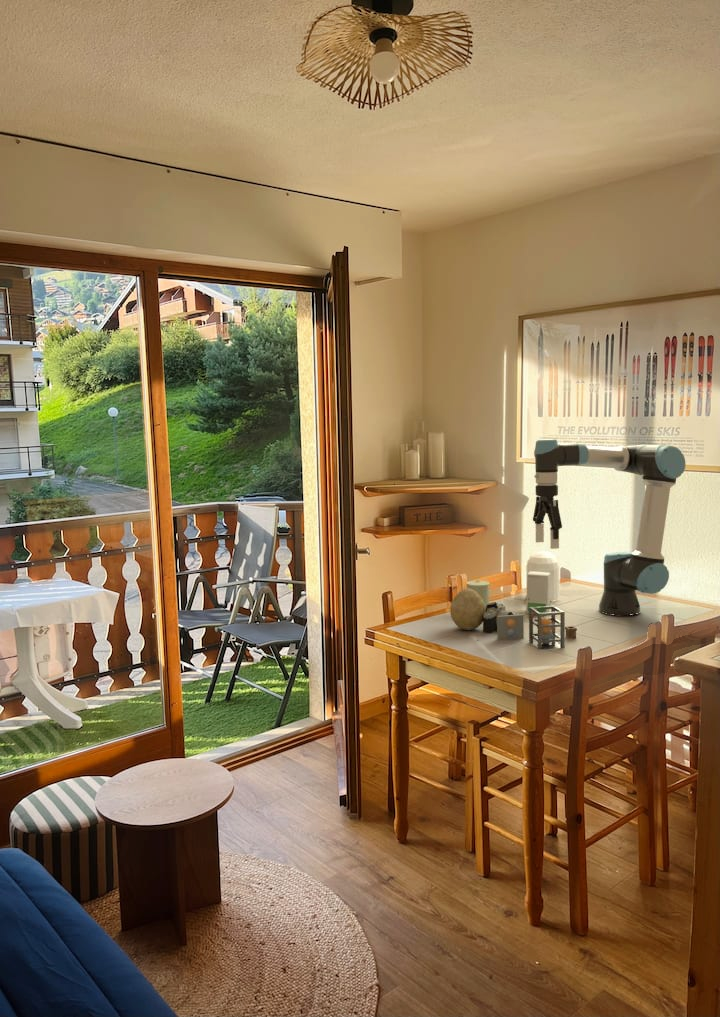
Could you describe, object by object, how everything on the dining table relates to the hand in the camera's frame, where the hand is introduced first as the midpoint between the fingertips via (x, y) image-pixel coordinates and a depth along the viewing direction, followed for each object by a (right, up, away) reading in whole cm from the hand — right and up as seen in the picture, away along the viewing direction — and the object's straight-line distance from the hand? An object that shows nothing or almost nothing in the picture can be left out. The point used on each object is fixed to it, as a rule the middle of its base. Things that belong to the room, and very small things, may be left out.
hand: (547, 545), depth 270 cm
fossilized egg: (-26, -31, +12) cm, 42 cm away
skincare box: (+5, -28, +34) cm, 44 cm away
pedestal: (+7, -32, -4) cm, 33 cm away
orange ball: (-4, -26, -11) cm, 28 cm away
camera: (-15, -31, +10) cm, 36 cm away
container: (+12, -25, +56) cm, 62 cm away
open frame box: (-3, -33, -12) cm, 35 cm away
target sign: (-13, -33, -3) cm, 35 cm away
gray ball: (-3, -32, -12) cm, 34 cm away
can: (-18, -28, +38) cm, 50 cm away
